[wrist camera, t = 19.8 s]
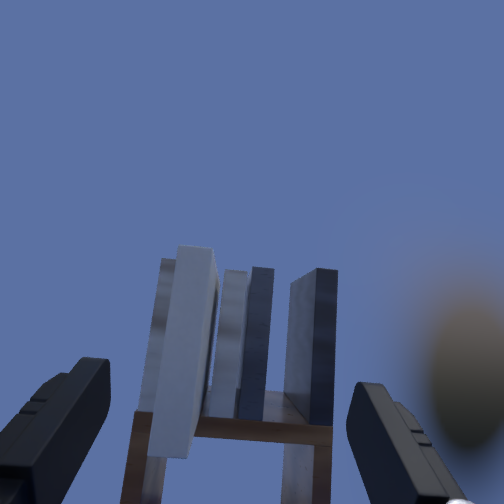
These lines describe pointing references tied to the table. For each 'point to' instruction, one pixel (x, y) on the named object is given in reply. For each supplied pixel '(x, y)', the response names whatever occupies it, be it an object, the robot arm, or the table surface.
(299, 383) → the book stand
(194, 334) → the white book
